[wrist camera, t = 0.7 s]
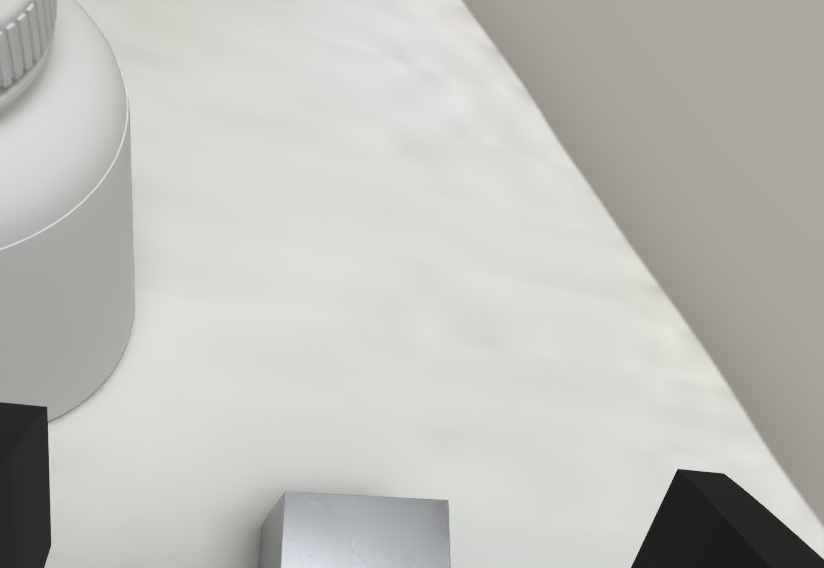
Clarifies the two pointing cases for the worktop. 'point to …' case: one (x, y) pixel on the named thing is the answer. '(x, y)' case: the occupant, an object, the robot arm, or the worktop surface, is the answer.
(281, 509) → the block
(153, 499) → the worktop surface
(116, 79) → the pill bottle
